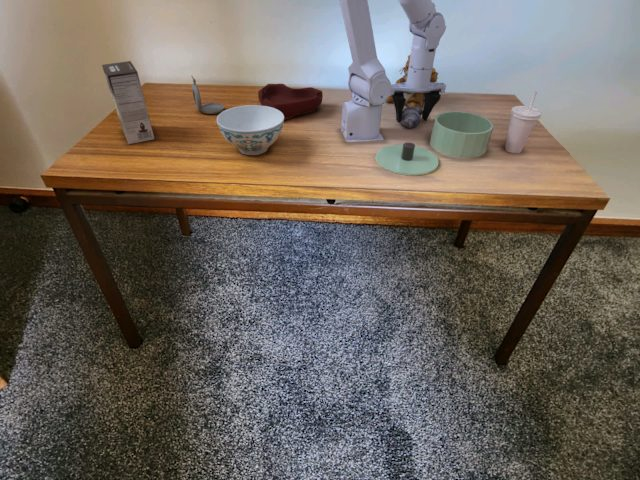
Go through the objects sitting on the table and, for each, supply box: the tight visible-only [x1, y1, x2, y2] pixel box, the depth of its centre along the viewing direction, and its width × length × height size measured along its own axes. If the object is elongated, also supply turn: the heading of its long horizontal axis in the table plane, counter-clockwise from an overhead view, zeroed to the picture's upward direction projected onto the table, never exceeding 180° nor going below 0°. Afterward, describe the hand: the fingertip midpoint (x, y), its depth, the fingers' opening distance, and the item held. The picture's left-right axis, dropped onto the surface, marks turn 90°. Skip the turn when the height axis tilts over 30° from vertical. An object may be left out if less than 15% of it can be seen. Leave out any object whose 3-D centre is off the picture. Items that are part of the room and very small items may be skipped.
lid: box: [375, 142, 440, 177], centre depth 89 cm, size 14×14×4 cm
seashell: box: [400, 106, 423, 129], centre depth 105 cm, size 5×5×10 cm
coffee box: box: [101, 60, 156, 145], centre depth 94 cm, size 9×6×16 cm
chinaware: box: [216, 104, 285, 156], centre depth 91 cm, size 15×15×8 cm
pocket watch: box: [191, 75, 225, 115], centre depth 108 cm, size 8×8×10 cm
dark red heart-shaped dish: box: [257, 83, 323, 121], centre depth 110 cm, size 18×16×5 cm
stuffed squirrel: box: [385, 54, 439, 108], centre depth 116 cm, size 10×14×13 cm
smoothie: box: [504, 91, 542, 154], centre depth 92 cm, size 6×6×14 cm
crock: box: [429, 110, 494, 159], centre depth 95 cm, size 13×13×6 cm
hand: (411, 120), depth 106 cm, fingers closed on seashell, 6 cm apart
